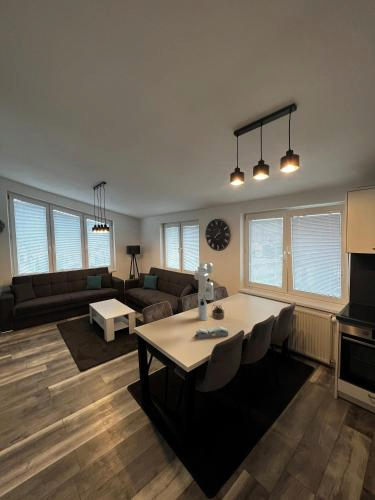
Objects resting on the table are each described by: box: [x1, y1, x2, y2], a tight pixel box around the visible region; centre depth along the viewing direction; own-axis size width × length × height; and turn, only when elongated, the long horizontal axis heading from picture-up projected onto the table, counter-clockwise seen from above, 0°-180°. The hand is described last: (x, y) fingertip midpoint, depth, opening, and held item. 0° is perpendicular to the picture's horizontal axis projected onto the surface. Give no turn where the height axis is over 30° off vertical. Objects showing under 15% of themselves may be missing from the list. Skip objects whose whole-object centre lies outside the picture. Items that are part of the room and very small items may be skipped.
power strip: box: [194, 328, 229, 340], centre depth 191 cm, size 7×31×5 cm, turn 104°
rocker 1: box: [198, 327, 208, 333], centre depth 188 cm, size 4×8×2 cm, turn 105°
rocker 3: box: [216, 326, 228, 331], centre depth 192 cm, size 4×8×2 cm, turn 104°
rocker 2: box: [207, 326, 218, 333], centre depth 190 cm, size 4×8×2 cm, turn 104°
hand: (202, 305), depth 201 cm, fingers closed
